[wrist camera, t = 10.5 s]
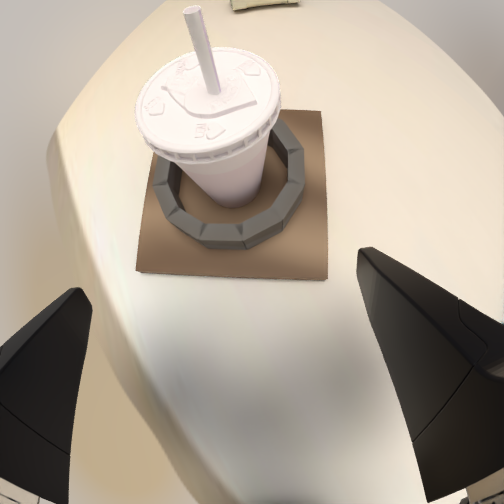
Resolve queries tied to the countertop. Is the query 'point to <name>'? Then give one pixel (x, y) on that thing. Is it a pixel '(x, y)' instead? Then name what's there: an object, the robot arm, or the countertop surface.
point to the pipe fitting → (257, 3)
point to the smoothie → (212, 115)
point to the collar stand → (244, 214)
